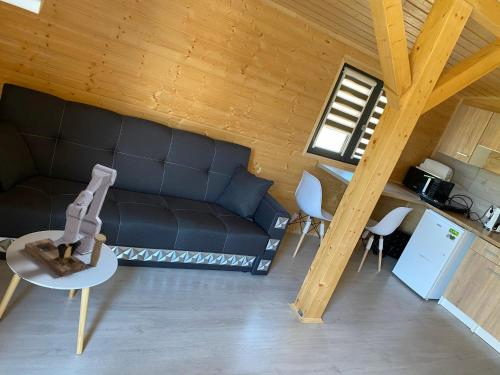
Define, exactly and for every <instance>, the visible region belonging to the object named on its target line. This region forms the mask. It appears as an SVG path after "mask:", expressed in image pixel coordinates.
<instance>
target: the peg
mask: <svg viewBox="0 0 500 375" xmlns="http://www.w3.org/2000/svg"><path fill="white" fill-rule="evenodd" d="M65 245H66V246H67V247H68V248H67V250H66V252H65V255H64V258H63V259H61V258H60V257H59V260H58V263H59V264H61V265H62V266H66V265H68V264H69V259H70V255H71V251H72V246H73V245H72V244H70V243H66V244H65Z"/></svg>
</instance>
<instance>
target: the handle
mask: <svg viewBox="0 0 500 375" xmlns="http://www.w3.org/2000/svg"><path fill="white" fill-rule="evenodd" d="M94 240H95V244H94V247H93V250H92V252H91V255H90V258H89V259H90V261H89V265H90V266H92V267H96V266H97V265H98V262H99V260H100V258H101V252H102V247H103V243H106V240H107V237H106V235H104V234H102V233H99V234H95V235H94Z"/></svg>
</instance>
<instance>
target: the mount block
mask: <svg viewBox="0 0 500 375" xmlns="http://www.w3.org/2000/svg"><path fill="white" fill-rule="evenodd" d="M54 241H55V240H52V239H51V238H50V237H49V238H43V239H40V240H35V241H31V242H26V243H25V244H24V251H25V252H27V253H28V254H30V255H31V256H32V257H34V258H35V259H36V260H37V261H39V262H40V263H41V264H43V265H44V266H46V267H47V268H48V269H50V270H51V271H52V270H53V271H52V272H54V273H55V274H56V273H57V274H56V275H58V276H59V277H60V276H61V277H60V278H63V277H65V276H69V275H72V274H74V273H77V272H80V271H83V270H85V268H86V263H85V262H84V261H82V259H79V257H77V256H75V255H74V254H73V256H71V255H70V259H69V264H68V265H66V266H62V265H61V264H59V263H58V260H59V251H58V247H56V246H54V245H53V243H54ZM43 249H49V251H45V252H44V251H43Z"/></svg>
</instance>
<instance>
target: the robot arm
mask: <svg viewBox="0 0 500 375" xmlns="http://www.w3.org/2000/svg"><path fill="white" fill-rule="evenodd" d="M116 178H117V170H116V169H113V168H110V167H107V166H104V165H101V164H99V163H97V164H95V165H94V167H93V169H92V172H91V180H90V182H89V184H88V185H87V187H86V188H85V190H81V192H80V193H79V195H78V196H77V197H76V198H75V200H74V201H73V202H72V203H70V204H69V205H68V206H67V209H66V212H65V215H66V216H65V217H66V218H65V219H66V222H65V223H66V224H65V228H64V231H63V234H62V236H61V237H59V238H57V239H55V240H53V241H54V243H53V245H54V246H56V247H58V251H59V257H60V258H61V259H63V258H64V255H65V252H66V250H67V248H68V247H67V246H66V245H65V244H66V243H70V244H72V245H73V246H72V251H71V256H73V255H74V253H75V252H78V253H79V254H81V255H86V254H89V253H92V250H93V247H94V244H95V240H94V235H95V234H100V231H101V230H102V229H101V228H102V224H103V222H102V220H101V219H100V217H99V215H100V211H101V210H102V206H103V203H104V201H105V197H106V195H107V192H108V189H109V188H110V187H111V186H112V187H113V185H114V183H115V181H116ZM89 205H90V207H89V209H88V206H89ZM87 211H88V212H87ZM86 213H87V214H86Z"/></svg>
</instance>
